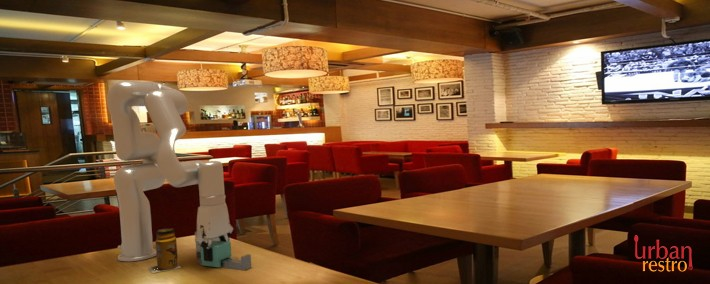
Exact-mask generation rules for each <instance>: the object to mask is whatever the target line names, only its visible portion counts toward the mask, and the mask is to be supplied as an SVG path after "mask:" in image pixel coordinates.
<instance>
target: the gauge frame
mask: <svg viewBox="0 0 710 284" xmlns="http://www.w3.org/2000/svg"><path fill="white" fill-rule="evenodd" d="M196 236H197V230H196V231H194V239H195V238H196ZM202 240H203V238H202ZM194 241H195V240H194ZM212 241H220V239H219V237H216V238H213V239H212ZM207 242H208V240H207V241H206V243H207ZM229 242H231V236H230V237H229ZM197 251H200V245H199V244H198V243H197V242H196V241H195V253H196V254H195V255H196V256H197Z"/></svg>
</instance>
